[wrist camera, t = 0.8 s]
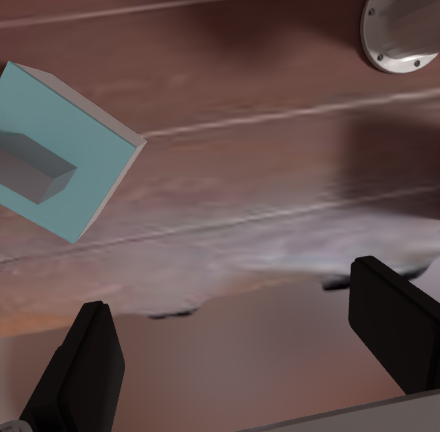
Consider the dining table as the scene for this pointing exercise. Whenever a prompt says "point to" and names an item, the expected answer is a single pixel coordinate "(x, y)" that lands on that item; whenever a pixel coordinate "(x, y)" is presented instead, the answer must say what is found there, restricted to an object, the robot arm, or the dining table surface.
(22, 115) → the lid
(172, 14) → the dining table surface
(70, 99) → the storage box
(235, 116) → the dining table surface
